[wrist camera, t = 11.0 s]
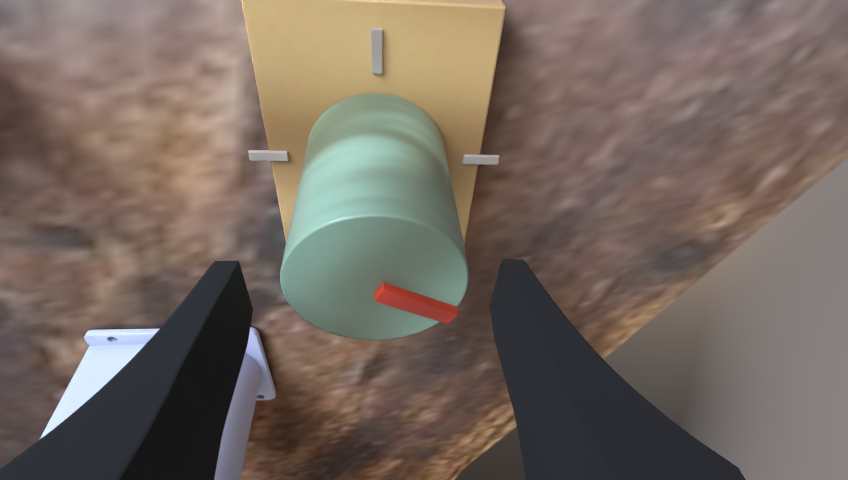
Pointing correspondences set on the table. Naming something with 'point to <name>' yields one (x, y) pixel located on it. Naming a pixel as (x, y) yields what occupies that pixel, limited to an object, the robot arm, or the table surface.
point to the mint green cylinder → (375, 224)
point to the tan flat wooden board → (374, 74)
